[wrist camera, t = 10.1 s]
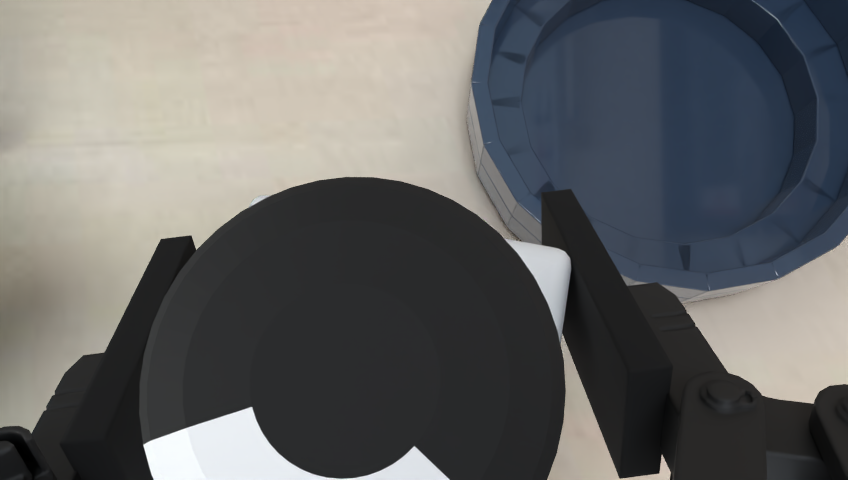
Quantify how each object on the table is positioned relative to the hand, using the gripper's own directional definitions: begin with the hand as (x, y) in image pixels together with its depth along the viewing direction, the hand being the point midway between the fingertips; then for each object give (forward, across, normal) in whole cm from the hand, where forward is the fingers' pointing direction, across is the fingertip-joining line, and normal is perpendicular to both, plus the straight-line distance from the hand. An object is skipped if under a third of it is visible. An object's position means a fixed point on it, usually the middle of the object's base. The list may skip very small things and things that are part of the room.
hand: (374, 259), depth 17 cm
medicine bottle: (+1, 0, -5) cm, 5 cm away
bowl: (+18, +14, -5) cm, 24 cm away
